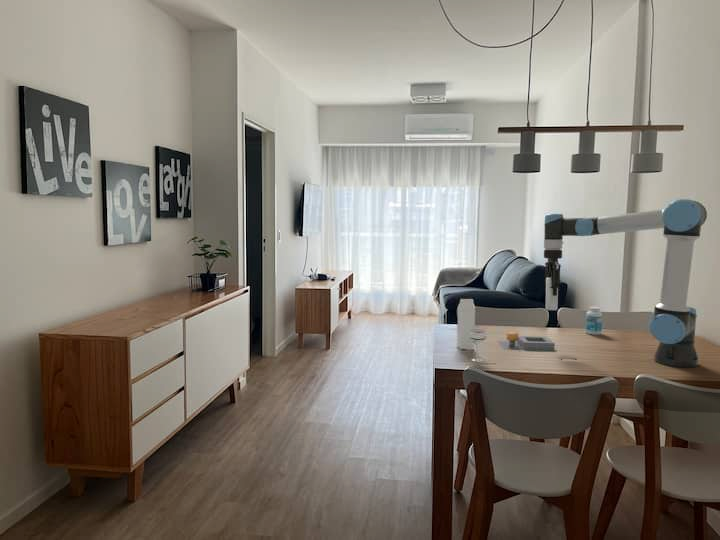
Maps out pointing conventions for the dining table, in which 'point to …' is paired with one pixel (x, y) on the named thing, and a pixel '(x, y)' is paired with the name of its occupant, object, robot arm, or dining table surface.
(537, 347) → the housing
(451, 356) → the dining table surface
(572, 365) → the dining table surface
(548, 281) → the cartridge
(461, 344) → the milk
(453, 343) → the dining table surface
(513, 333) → the orange rounded knob
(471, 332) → the wineglass
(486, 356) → the dining table surface
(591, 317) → the pill bottle
